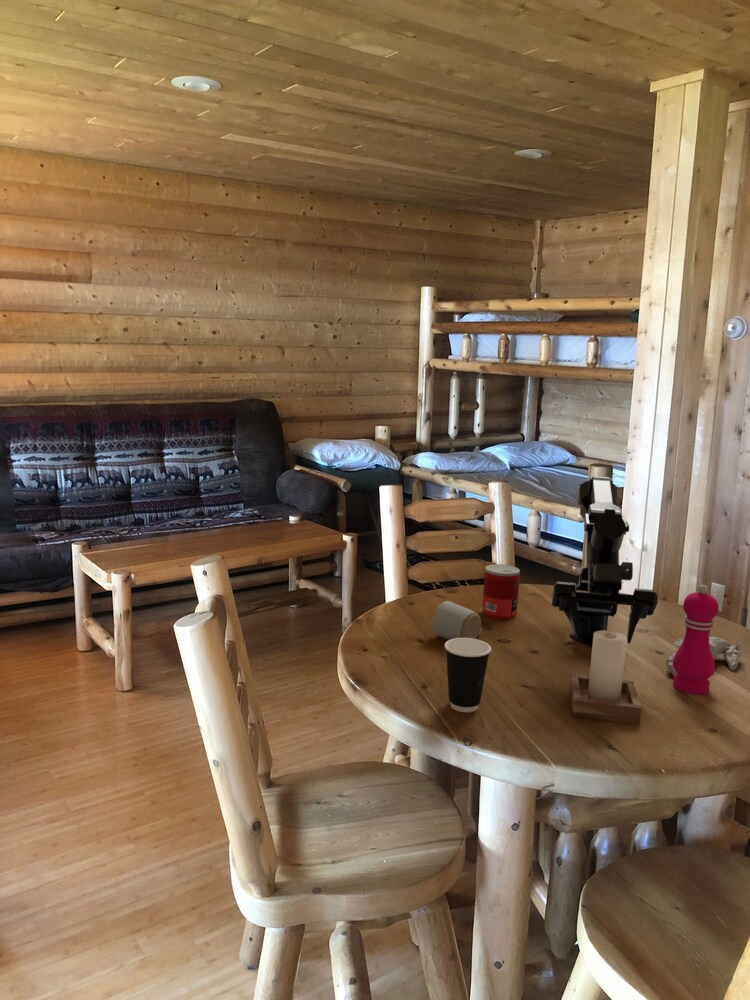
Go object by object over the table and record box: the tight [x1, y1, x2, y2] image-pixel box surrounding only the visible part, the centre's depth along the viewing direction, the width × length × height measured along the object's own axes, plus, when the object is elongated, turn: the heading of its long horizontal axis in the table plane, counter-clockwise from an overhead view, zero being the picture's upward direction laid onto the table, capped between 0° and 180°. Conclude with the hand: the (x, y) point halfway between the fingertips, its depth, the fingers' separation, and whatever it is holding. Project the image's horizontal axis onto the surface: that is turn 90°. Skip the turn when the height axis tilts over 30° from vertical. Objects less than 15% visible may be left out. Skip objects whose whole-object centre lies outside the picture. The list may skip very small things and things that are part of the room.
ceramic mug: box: [431, 600, 483, 641], centre depth 169 cm, size 11×8×8 cm
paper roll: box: [587, 630, 628, 703], centre depth 138 cm, size 6×6×12 cm
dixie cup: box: [444, 638, 492, 713], centre depth 137 cm, size 8×8×11 cm
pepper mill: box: [672, 584, 720, 695], centre depth 147 cm, size 7×7×20 cm
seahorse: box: [665, 636, 743, 676], centre depth 159 cm, size 5×12×20 cm
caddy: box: [569, 674, 643, 726], centre depth 139 cm, size 11×11×3 cm
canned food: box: [482, 563, 521, 620], centre depth 184 cm, size 8×8×11 cm
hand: (603, 639), depth 146 cm, fingers open, 9 cm apart
